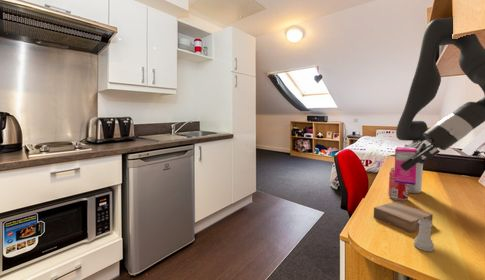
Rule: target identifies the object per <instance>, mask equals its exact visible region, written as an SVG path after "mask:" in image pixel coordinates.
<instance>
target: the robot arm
mask: <svg viewBox="0 0 485 280" xmlns="http://www.w3.org/2000/svg"><path fill="white" fill-rule="evenodd" d="M453 17H454V16H452V17H442V18H436V19H432V20H431V21H430V22H429V23H428V24H427V26H426V27H425V30H424V33H423V36H422V40H421V41H422V42H421V46H420V51H419V57H418V61H417V65H416V69H415V73H414V75H413V78H412V81H411V85H410V87H409V91H408V95H407V100H406V103H405V106H404V109H403V111H402V114H401V116H400V118H399V121H398V123H397V126H396V131H395V135H396V138H397V139H398V140H399V141H407V142H408V141H411V143H410V144H408V145H406V146H405V147H407V148H417V151H416V154H415V155H413V156H412V157H411V159H408V160H407V161H406V162H404V163H403V164H402V165H401V167H402V168H403V169H404V170H405V171H407V170H408V169H410V168H411V167H413V166H414V165H416V184H415V185H411V184H409V194H421V192H422V186H423V183H422V182H423V173H424V172H423V168H424V163H425V162H427V161H428V160H430V159H432V158H433V157H435V156H436V155H438V154H439V153H440V152H441V151H440V150H442V151H446V150H447V149H449V148H450V147H452V146H453V145H455V144H456V143H457V142H459V141H460V140H462V139H464V138H465V137H466V136H467V135H469V134H470V133H471V132H472V131H473V130H474V129H476V128H478V127H479V126H480V125H482V124H483V123H485V48H484V46H483V45H482V43H481V42H480V40H479V38H478V36H477V34H476V33H475V34H471V35H466V36H463V37H460V38H458V39H452V34H453ZM447 45H448V46H449V45H454V47H456V48H457V49H459V51H460V53H459V59H458V64H459V67H460V69H461V71H462V72H463V73H464V74H465V76H466V77H467V78H468V80H470V81H471V82H472V83H473V84H475V85H478V86H479V87H480V88H481V90H482V91H483V94H484V96H483V98H481V99H478V100H477V101H468V102H466V103H463V104H462V105H461V106H459V107H458V108H456V109H455V110H454V111H453V112H452V113H450V114H448V115H447V116H445V117H443V118H442V119H440V120H439V121H437V123H435V124H433V126H431V127H430V128H428V125H427V123H426V122H425V121H423V120H414V119H415V117H416V115H417V114H418V113H420V111H422V110H423V109H424V108H425V107H427V106H428V105H429V104H430V103H432V101H433V100H434V99H435V97H436V96H437V93H438V91H439V89H440V85H441V82H442V77H441V73H440V70H439V68H438V65H437V62H436V57H437V53H438V52H437V51H438V49H439V47H440V46H441V47H442V46H447Z"/></svg>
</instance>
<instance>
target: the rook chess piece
mask: <svg viewBox="0 0 485 280" xmlns="http://www.w3.org/2000/svg"><path fill="white" fill-rule="evenodd" d="M418 223H419V224H420V226H419V230H418V234H417V235H416V236H415V238H414V239H413V245H414V246H415V248H417V249H418V250H420V251H424V252H429V253H430V252H433V251H434V250H435V244H434V242H433V240H432V237H431V235H432V234H431V232H432V227H433V226H434V224H433V220H432V221H431V220H429V221H428V219H427V218H426V220H424V218H420V220H419V221H418Z"/></svg>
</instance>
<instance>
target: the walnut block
mask: <svg viewBox="0 0 485 280" xmlns="http://www.w3.org/2000/svg"><path fill="white" fill-rule="evenodd" d="M373 218H375V219H377V220H380V221H381V222H384V223H387V224H388V223H389V224H388V225H391V226H393V227H395V226H396V228H399V229H400V230H403V231H405V232H408V233H410V234H411V233H413V232H416V231H419V226H420V224H419V223H418V221H419V220H420V218H424V220H426V218H427V219H428V221H429V220H431V221H432V222H433V213H429V212H427V211H423V210H421V209H418V208H415V207H412V206H409V205H406V204H403V203H401V202H398V201H393V202H390V203H385V204H381V205H378V206H374V207H373Z"/></svg>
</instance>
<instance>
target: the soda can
mask: <svg viewBox="0 0 485 280" xmlns="http://www.w3.org/2000/svg"><path fill="white" fill-rule="evenodd" d="M388 176H389V178H388V197H389V198H390V199H392V200H395V201H401V202H402V201H407V200H408V199H409V194H410V193H409V184H404V183H397V182H394V179H395V167H391V168H390V170H389V175H388Z"/></svg>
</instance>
